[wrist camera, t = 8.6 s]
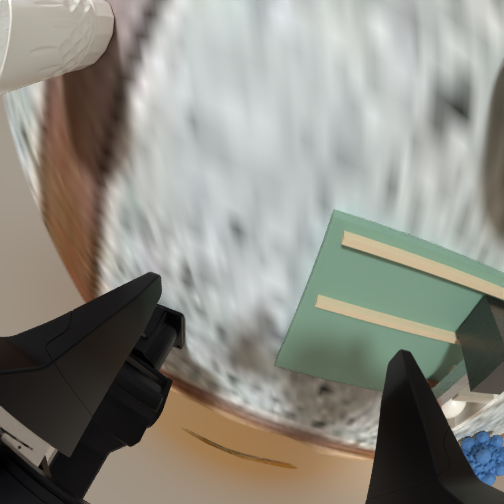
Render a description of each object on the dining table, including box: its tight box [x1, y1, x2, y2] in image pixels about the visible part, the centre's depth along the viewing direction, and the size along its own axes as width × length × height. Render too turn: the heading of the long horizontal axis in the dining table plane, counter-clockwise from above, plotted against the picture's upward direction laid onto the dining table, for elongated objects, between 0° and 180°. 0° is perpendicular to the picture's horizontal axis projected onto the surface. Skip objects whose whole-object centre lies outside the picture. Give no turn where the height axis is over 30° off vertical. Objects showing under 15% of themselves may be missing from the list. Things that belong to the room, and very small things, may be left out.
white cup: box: [0, 0, 114, 96], centre depth 12 cm, size 8×8×10 cm
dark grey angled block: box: [426, 295, 504, 409], centre depth 19 cm, size 14×4×6 cm, turn 170°
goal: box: [446, 365, 499, 431], centre depth 24 cm, size 8×7×5 cm
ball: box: [441, 398, 466, 419], centre depth 24 cm, size 4×4×4 cm
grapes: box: [461, 431, 504, 486], centre depth 27 cm, size 12×7×12 cm, turn 123°
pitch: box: [274, 210, 504, 391], centre depth 23 cm, size 18×26×2 cm
